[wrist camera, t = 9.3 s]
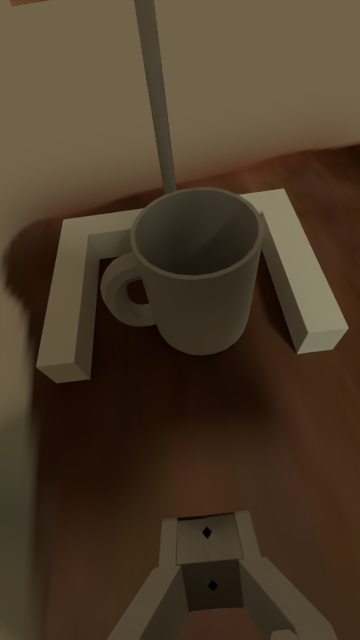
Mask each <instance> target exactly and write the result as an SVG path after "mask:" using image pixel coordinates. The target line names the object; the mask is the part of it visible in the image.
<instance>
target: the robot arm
mask: <svg viewBox="0 0 360 640" xmlns="http://www.w3.org/2000/svg"><path fill="white" fill-rule="evenodd" d="M239 607H244V610H245V611H246V613H247V614H248V616H249V617H250V619H251V620H252V622H253V623H254V625H255V626H256V628H257V629H258V631H259V632H260V634H261V635H262V637H263V638H264V640H337V638H336V635H335V633H334V630H333V628H332V625H331V624H330V623H329V622H328V621H327V620H326V619H325V617H324V616H323V615H322V614H321V613H320V612H319V611H318V610H317V609H316V608H315V607H314V606H313V605H312V604H311V603H310V602H309V601H308V600H307V599H306V598H305V597H304V596H303V595H302V594H301V593H300V592H299V591H298V590H297V588H296V587H295V586H294V585H293V584H292V583H291V582H290V581H289V580H288V579H287V578H286V577H285V576H284V575H283V574H282V573H281V572H280V571H279V570H278V569H277V568H276V567H275V566H274V565H273V564H272V563H271V562H270V561H269V559H268V558H267V557H261V554H260V550H259V546H258V542H257V538H256V535H255V531H254V527H253V523H252V520H251V516H250V513H249V511H239V512H229V513H221V514H212V515H206V516H194V517H180V518H171V519H163V521H162V528H161V541H160V555H159V567H157V568H154V569H153V570H152V572H151V573H150V575H149V576H148V578H147V579H146V581H145V582H144V584H143V586H142V587H141V589H140V590H139V592H138V593H137V595H136V596H135V598H134V599H133V601H132V602H131V604H130V605H129V607H128V608H127V610H126V611H125V613H124V614H123V616H122V617H121V619H120V620H119V622H118V623H117V625H116V627H115V628H114V630H113V631H112V633H111V634H110V636H109V637H108V639H107V640H179V638H180V635H181V633H182V630H183V628H184V625H185V623H186V621H187V618H188V616H189V612H195V611H202V610H210V609H221V608H239Z"/></svg>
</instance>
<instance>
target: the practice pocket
mask: <svg viewBox="0 0 360 640" xmlns="http://www.w3.org/2000/svg"><path fill="white" fill-rule="evenodd" d="M41 1H47V0H10V3H11V5H12V6H17V5H23V4H29V3H35V2H41ZM134 3H135V9H136V16H137V22H138V29H139V35H140V41H141V48H142V54H143V60H144V67H145V73H146V80H147V86H148V92H149V98H150V105H151V111H152V118H153V123H154V130H155V137H156V143H157V149H158V156H159V161H160V168H161V175H162V181H163V187H164V194H165V195H166V194H169V193H172V192H175V191H176V183H175V175H174V166H173V157H172V149H171V141H170V132H169V123H168V115H167V107H166V99H165V90H164V82H163V74H162V64H161V57H160V48H159V39H158V30H157V22H156V13H155V5H154V0H134ZM240 196H241V197H243V198H244V199H246V200H247V201H249V202H250V203H251V204H252V205H253V206H254V207H255V208H256V210H257V211H258V212H259V213H260V216H261V219H262V221H263V224H264V233H263V242H262V247H261V248H262V251H263V254H264V257H265V260H266V263H267V266H268V269H269V272H270V275H271V278H272V281H273V284H274V287H275V290H276V293H277V296H278V299H279V302H280V305H281V308H282V311H283V314H284V317H285V320H286V323H287V326H288V329H289V332H290V335H291V338H292V341H293V344H294V347H295V350H296V352H297V354H300V353H308V352H316V351H324V350H332V349H333V348H334V347H335V345H336V344H337V343H338V341H339V340H340V339H341V337H342V336H343V335H344V334H345V332H346V331H347V330H348V326H347V323H346V321H345V319H344V317H343V315H342V313H341V311H340V308H339V306H338V304H337V302H336V300H335V298H334V295H333V293H332V291H331V289H330V287H329V285H328V283H327V280H326V278H325V276H324V274H323V272H322V270H321V267H320V265H319V263H318V261H317V259H316V257H315V255H314V252H313V250H312V248H311V246H310V244H309V242H308V239H307V237H306V235H305V233H304V231H303V229H302V227H301V224H300V222H299V220H298V218H297V216H296V214H295V211H294V209H293V207H292V205H291V203H290V201H289V199H288V196H287V194H286V192H285V190H284V189H278V190H271V191H264V192H256V193H249V194H242V195H240ZM143 209H144V208H143ZM143 209H136V210H129V211H122V212H115V213H108V214H101V215H94V216H87V217H80V218H73V219H66V220H63V225H62V230H61V236H60V241H59V246H58V252H57V257H56V262H55V268H54V273H53V278H52V284H51V289H50V295H49V300H48V305H47V311H46V316H45V321H44V327H43V332H42V338H41V343H40V348H39V354H38V359H37V364H36V368H38V369H39V370H40V371H42V372H43V373H44V374H45V375H47V376H48V377H49V378H51V379H52V380H53V381H54V382H56V383H63V382H72V381H80V380H88V379H90V377H91V364H92V351H93V338H94V325H95V312H96V299H97V286H98V274H99V261H100V259H105V258H113V257H120V256H122V255H124V254H128V253H131V252H133V250H132V247H131V244H130V231H131V228H132V226H133V223H134V220H135V219H136V217H137V216H138V215H139V213H140V212H141V211H142V210H143Z"/></svg>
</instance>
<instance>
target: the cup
mask: <svg viewBox="0 0 360 640" xmlns="http://www.w3.org/2000/svg"><path fill="white" fill-rule="evenodd" d="M263 233H264V224H263V221H262V219H261V216H260V213H259V212H258V211H257V210H256V208H255V207H254V206H253V205H252V204H251V203H250V202H249V201H247V200H246V199H244V198H243V197H241V196H240V195H237V194H234V193H232V192H229V191H227V190H222V189H216V188H201V187H196V188H189V189H182V190H178V191H175V192H172V193H169V194H166V195H164V196H162V197H160V198H158V199H156V200H154V201H152V202H151V203H150V204H149V205H148V206H146V207H145V208H144V209H143V210H142V211H141V212H140V213H139V215H138V216H137V217H136V219H135V220H134V223H133V226H132V228H131V231H130V244H131V247H132V250H133V252H131V253H128V254H124V255H122V256H120V257H119V258H117V259H115V260H113V261H112V263H111V264H110V265H109V266H108V267H107V269H106V270H105V272H104V274H103V276H102V281H101V286H100V289H101V294H102V298H103V300H104V302H105V304H106V306H107V308H108V309H109V310H110V312H111V313H112V314H113V315H114V316H115V317H116V318H117V319H118V320H119V321H121V322H123V323H125V324H127V325H131V326H136V327H142V326H151V325H157V327H158V329H159V332H160V334H161V336H162V337H163V338H164V339H165V341H166V342H167V343H168V344H169V345H171V346H172V347H174V348H175V349H177V350H179V351H182V352H184V353H187V354H192V355H209V354H215V353H218V352H220V351H223V350H225V349H227V348H228V347H230V346H231V345H233V344H234V343H235V342H236V341H237V340H238V339H239V337H240V336H241V335H242V334H243V331H244V329H245V326H246V324H247V321H248V317H249V312H250V307H251V301H252V296H253V290H254V285H255V280H256V274H257V269H258V263H259V258H260V253H261V247H262V242H263ZM140 279H142V281H143V285H144V288H145V291H146V294H147V297H148V300H149V304H145V305H138V304H135V303H133V302H132V301H131V300H130V299H129V297H128V294H127V288H126V287H127V285H128V284H129V283H131V282H133V281H136V280H140Z"/></svg>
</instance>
